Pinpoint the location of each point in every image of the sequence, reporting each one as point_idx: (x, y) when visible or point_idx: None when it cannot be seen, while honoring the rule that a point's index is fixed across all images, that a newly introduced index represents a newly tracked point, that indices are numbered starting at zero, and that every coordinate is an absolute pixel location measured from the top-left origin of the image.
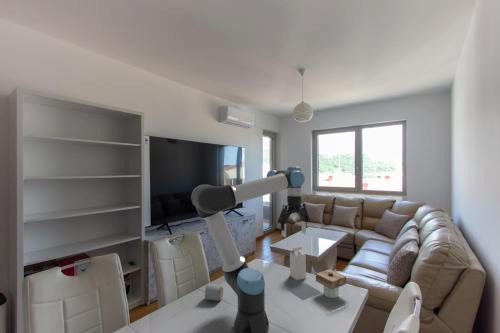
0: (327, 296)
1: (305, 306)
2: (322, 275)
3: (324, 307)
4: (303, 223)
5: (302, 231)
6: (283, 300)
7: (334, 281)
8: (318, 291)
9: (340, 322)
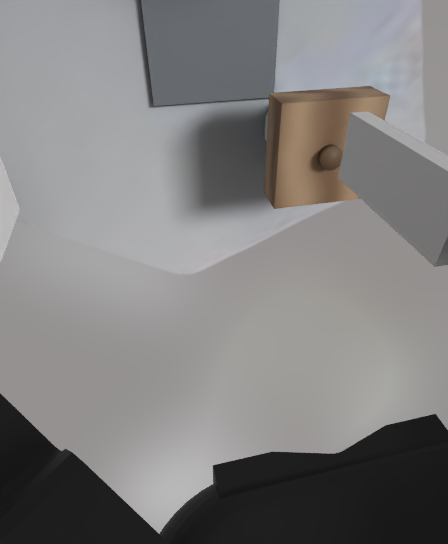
0: (266, 135)
1: (140, 141)
2: (292, 140)
3: (203, 178)
4: (425, 219)
5: (357, 143)
6: (67, 47)
7: (290, 205)
8: (268, 79)
9: (188, 254)
